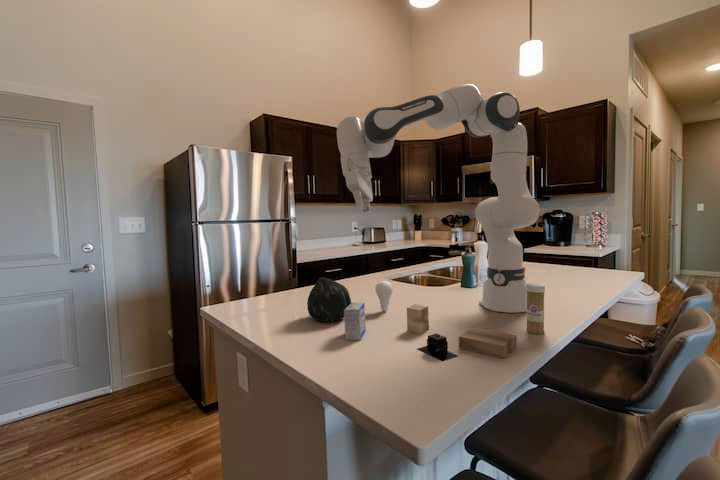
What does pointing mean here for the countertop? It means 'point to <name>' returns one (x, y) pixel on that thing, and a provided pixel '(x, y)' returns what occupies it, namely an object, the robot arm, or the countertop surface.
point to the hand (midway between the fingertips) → (363, 209)
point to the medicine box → (354, 321)
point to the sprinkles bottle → (535, 308)
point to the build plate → (437, 348)
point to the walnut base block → (488, 342)
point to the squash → (328, 300)
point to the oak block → (417, 319)
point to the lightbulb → (384, 294)
